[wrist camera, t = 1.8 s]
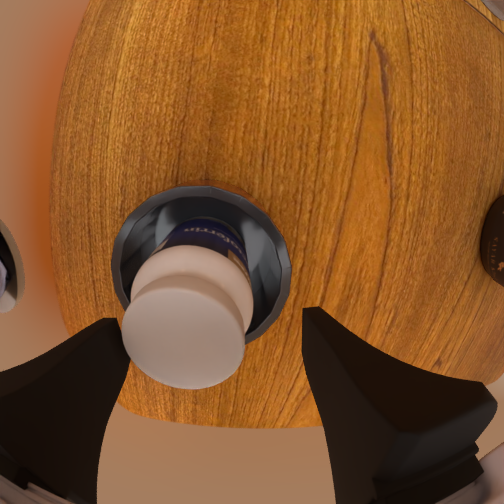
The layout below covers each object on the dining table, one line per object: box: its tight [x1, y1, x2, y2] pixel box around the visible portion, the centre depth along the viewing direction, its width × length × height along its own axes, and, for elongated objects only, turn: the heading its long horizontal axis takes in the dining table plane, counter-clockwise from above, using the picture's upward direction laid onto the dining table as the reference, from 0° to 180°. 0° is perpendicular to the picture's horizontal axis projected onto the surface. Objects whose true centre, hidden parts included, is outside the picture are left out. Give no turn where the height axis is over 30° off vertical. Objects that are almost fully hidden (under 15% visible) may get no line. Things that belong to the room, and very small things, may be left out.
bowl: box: [111, 180, 292, 345], centre depth 17 cm, size 10×10×4 cm
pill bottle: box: [122, 216, 253, 389], centre depth 14 cm, size 6×6×10 cm
